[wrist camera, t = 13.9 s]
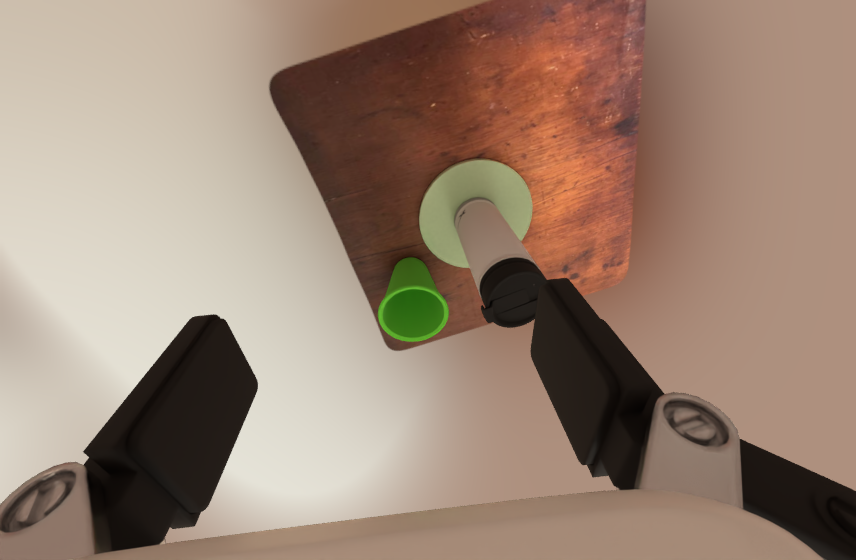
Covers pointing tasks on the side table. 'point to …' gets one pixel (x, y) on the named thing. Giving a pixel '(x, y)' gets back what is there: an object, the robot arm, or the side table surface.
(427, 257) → the side table surface
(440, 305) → the cup
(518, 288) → the travel mug
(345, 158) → the side table surface
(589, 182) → the side table surface
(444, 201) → the trivet
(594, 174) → the side table surface
